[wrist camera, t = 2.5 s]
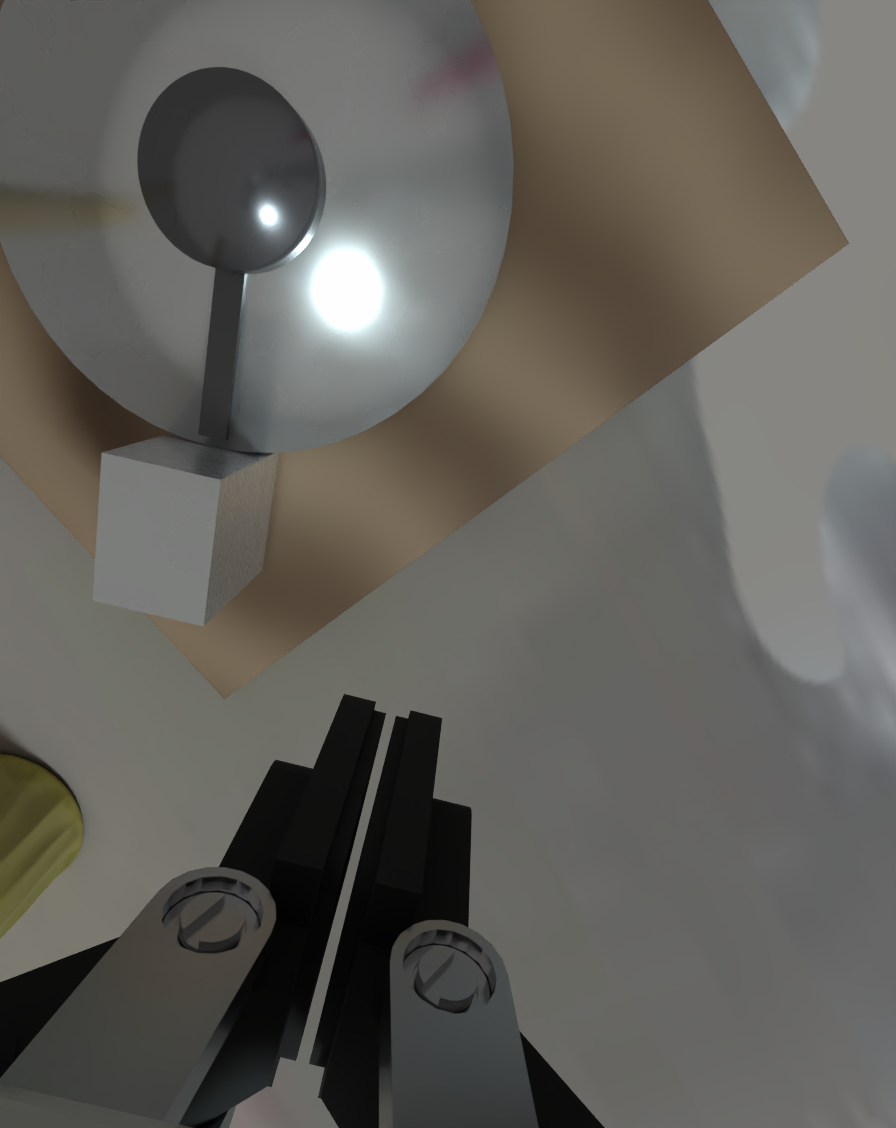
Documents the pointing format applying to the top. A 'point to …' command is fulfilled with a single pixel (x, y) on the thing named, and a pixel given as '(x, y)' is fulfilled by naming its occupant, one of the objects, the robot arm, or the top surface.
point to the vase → (33, 834)
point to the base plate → (494, 314)
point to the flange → (245, 243)
